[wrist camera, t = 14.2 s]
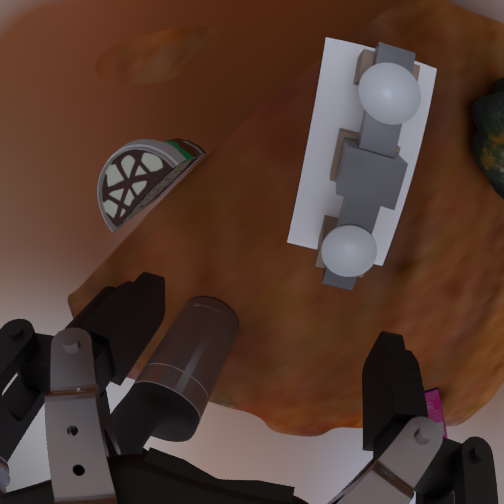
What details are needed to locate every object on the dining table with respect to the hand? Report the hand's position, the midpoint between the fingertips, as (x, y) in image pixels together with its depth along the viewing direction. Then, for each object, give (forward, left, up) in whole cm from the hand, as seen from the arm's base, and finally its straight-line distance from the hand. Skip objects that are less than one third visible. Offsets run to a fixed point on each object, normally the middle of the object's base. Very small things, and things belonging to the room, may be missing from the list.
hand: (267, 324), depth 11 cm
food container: (-3, +18, -27) cm, 33 cm away
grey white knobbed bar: (+2, -5, -22) cm, 23 cm away
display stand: (+2, -5, -27) cm, 28 cm away
